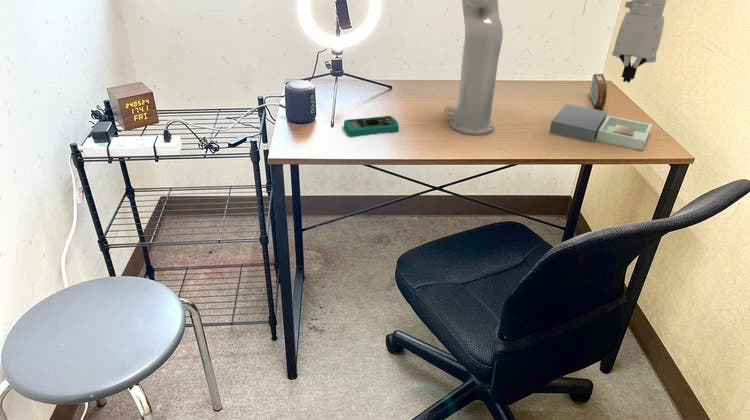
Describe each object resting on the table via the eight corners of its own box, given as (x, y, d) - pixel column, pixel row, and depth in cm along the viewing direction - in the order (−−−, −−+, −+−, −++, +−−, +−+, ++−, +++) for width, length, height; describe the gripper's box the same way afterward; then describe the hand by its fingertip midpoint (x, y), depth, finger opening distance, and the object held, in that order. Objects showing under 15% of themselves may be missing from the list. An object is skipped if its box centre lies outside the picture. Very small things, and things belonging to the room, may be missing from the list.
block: (632, 134, 150) (630, 141, 151) (635, 128, 154) (633, 135, 155) (613, 130, 152) (611, 137, 153) (616, 124, 156) (614, 131, 157)
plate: (549, 132, 157) (551, 121, 155) (563, 114, 168) (566, 103, 166) (592, 142, 151) (595, 130, 150) (604, 123, 163) (607, 111, 161)
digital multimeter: (400, 133, 156) (401, 123, 154) (349, 138, 152) (349, 128, 150) (392, 123, 162) (392, 114, 160) (343, 128, 158) (342, 118, 156)
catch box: (595, 140, 152) (598, 130, 151) (605, 125, 162) (607, 115, 160) (642, 151, 147) (645, 140, 146) (649, 134, 157) (652, 124, 155)
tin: (603, 111, 171) (610, 85, 167) (593, 111, 172) (599, 84, 167) (597, 95, 184) (603, 70, 179) (587, 94, 184) (593, 69, 180)
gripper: (612, 7, 138) (595, 79, 148) (678, 16, 132) (655, 90, 141) (618, 2, 144) (600, 72, 153) (681, 10, 137) (658, 82, 147)
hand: (626, 80), depth 147 cm, fingers closed
